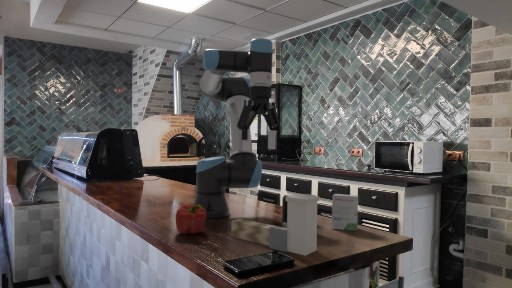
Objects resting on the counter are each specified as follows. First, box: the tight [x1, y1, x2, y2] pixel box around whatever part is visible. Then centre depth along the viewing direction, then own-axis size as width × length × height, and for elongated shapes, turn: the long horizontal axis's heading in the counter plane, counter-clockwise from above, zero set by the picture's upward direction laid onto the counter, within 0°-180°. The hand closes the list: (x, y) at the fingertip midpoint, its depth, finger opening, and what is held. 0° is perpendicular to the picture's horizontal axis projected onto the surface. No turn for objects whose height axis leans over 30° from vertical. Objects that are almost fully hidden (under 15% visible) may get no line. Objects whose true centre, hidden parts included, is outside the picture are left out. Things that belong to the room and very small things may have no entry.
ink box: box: [331, 193, 359, 232], centre depth 127 cm, size 9×5×12 cm, turn 71°
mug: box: [281, 195, 288, 223], centre depth 136 cm, size 9×12×9 cm
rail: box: [230, 218, 287, 246], centre depth 110 cm, size 21×4×5 cm, turn 51°
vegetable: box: [175, 204, 207, 235], centre depth 118 cm, size 11×10×10 cm
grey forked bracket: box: [269, 193, 320, 256], centre depth 103 cm, size 12×8×15 cm, turn 51°
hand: (259, 149), depth 122 cm, fingers open, 13 cm apart
